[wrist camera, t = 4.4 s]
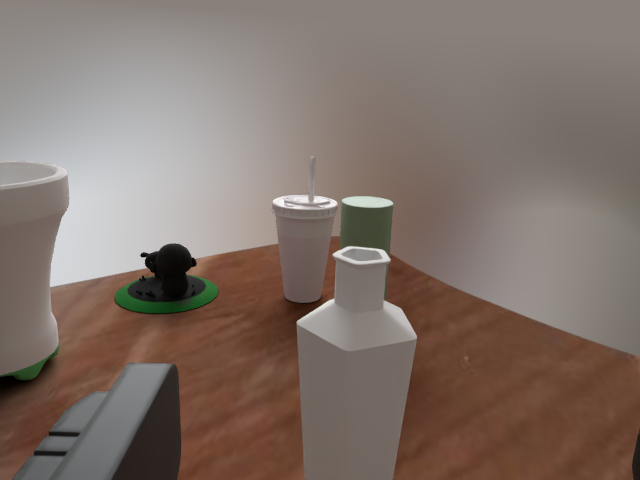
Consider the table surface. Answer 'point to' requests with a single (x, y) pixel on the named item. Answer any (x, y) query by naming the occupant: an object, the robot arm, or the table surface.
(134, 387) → the robot arm
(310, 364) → the perfume bottle
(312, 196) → the smoothie
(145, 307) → the toy figurine
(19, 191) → the cup
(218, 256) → the table surface
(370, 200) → the post
